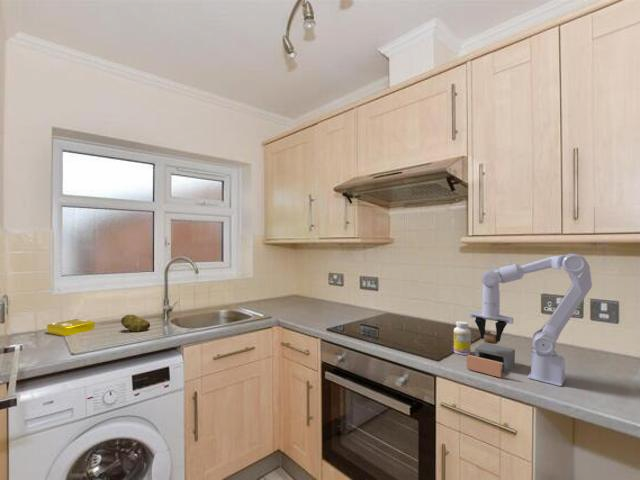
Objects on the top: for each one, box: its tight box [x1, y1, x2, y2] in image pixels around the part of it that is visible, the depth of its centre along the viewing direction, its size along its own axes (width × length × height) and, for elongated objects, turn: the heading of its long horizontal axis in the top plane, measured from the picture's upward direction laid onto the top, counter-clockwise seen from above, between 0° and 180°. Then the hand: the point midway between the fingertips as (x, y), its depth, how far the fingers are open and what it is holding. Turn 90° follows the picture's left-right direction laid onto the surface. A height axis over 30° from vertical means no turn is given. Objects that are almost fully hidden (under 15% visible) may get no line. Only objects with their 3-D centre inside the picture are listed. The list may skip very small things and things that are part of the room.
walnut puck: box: [483, 332, 499, 345], centre depth 122 cm, size 5×5×2 cm
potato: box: [120, 314, 151, 332], centre depth 168 cm, size 8×13×8 cm, turn 80°
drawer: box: [466, 354, 504, 378], centre depth 120 cm, size 11×10×5 cm
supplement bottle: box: [453, 320, 472, 356], centre depth 139 cm, size 7×7×13 cm
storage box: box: [474, 342, 516, 373], centre depth 126 cm, size 11×10×6 cm
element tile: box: [46, 318, 95, 337], centre depth 166 cm, size 15×15×5 cm
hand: (490, 339), depth 122 cm, fingers closed on walnut puck, 5 cm apart
